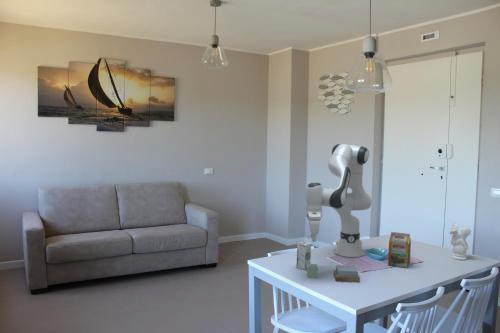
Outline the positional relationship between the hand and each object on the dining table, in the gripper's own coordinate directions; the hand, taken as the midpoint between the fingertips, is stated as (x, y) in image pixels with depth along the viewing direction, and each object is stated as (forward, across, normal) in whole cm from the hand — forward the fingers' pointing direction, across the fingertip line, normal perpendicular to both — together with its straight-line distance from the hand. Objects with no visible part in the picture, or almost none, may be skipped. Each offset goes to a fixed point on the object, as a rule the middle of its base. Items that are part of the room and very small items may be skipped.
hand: (313, 239), depth 235 cm
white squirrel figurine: (+20, -45, +91) cm, 103 cm away
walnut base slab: (+21, 0, +18) cm, 27 cm away
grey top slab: (+18, 0, +18) cm, 25 cm away
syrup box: (+20, -14, -4) cm, 25 cm away
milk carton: (+20, -27, +52) cm, 62 cm away
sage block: (+20, 0, 0) cm, 20 cm away
